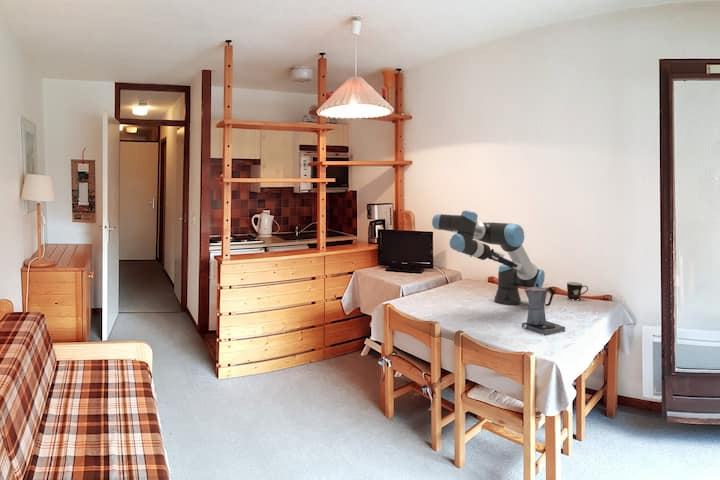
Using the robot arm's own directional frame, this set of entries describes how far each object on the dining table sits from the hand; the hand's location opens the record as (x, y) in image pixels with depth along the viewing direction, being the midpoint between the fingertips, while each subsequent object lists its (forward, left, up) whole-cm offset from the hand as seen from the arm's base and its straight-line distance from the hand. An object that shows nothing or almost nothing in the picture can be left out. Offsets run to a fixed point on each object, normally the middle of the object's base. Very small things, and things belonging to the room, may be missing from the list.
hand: (511, 262), depth 227 cm
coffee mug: (-77, -22, -33) cm, 87 cm away
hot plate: (-13, +9, -33) cm, 37 cm away
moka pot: (-12, +6, -31) cm, 34 cm away
